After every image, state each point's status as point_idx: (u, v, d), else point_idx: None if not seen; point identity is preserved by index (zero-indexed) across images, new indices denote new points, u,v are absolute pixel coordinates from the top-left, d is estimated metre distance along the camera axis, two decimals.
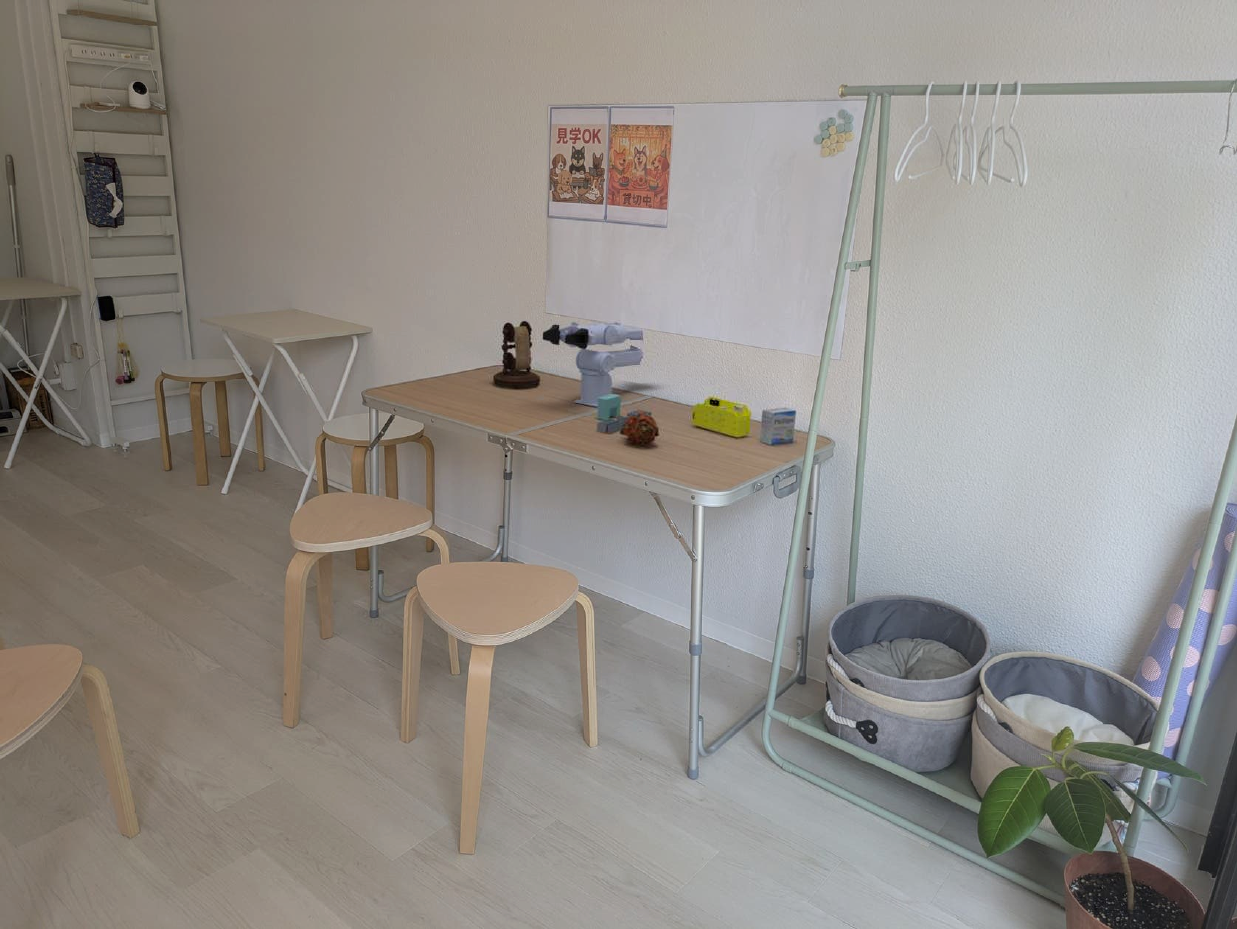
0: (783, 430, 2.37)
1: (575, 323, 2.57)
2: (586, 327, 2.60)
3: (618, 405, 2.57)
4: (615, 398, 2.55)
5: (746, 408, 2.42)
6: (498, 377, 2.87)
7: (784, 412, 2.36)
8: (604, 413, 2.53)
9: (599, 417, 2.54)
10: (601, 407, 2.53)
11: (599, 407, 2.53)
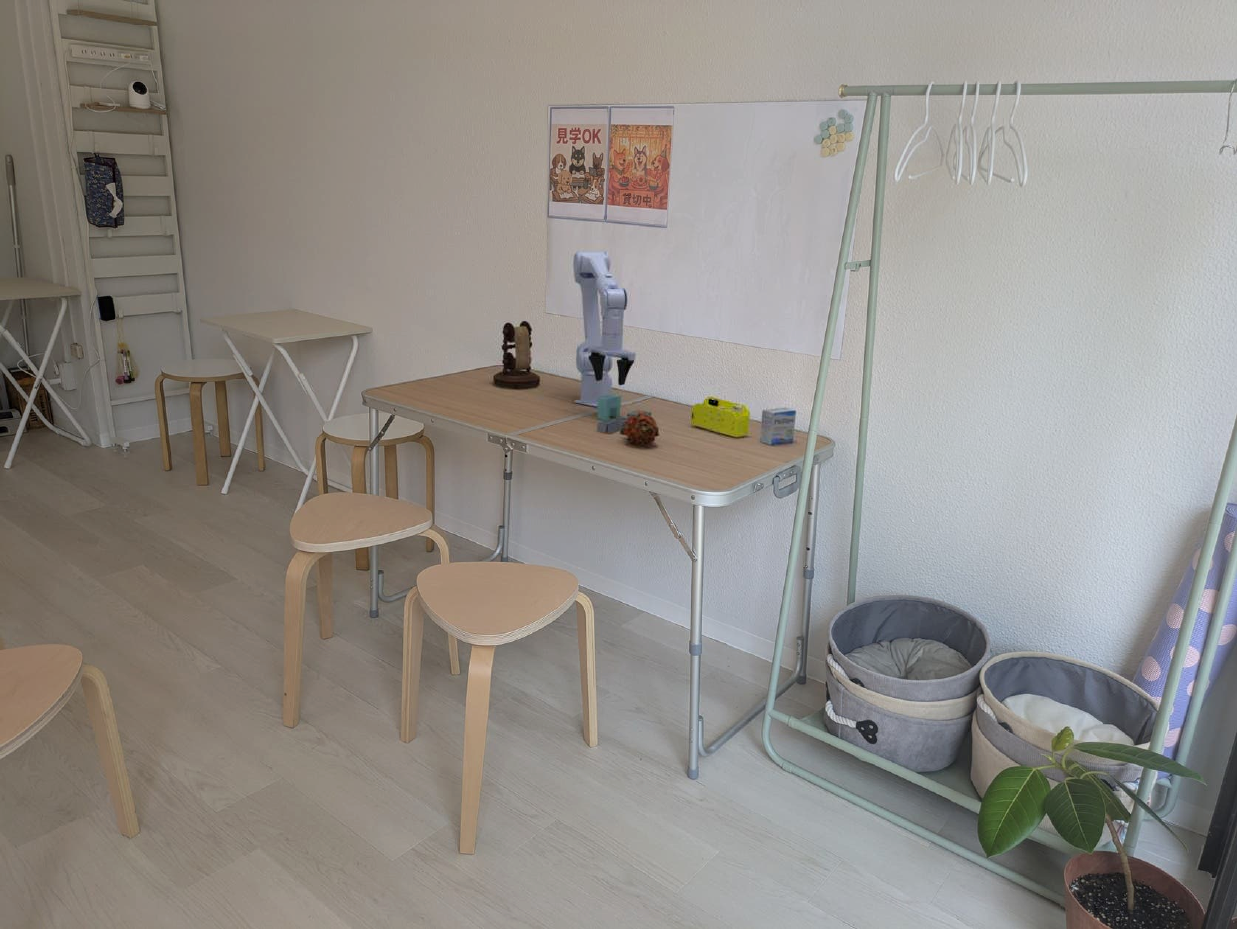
0: (783, 430, 2.37)
1: (604, 353, 2.48)
2: (610, 338, 2.47)
3: (618, 405, 2.57)
4: (615, 398, 2.55)
5: (745, 408, 2.42)
6: (498, 377, 2.87)
7: (784, 412, 2.36)
8: (604, 413, 2.53)
9: (599, 417, 2.54)
10: (601, 407, 2.53)
11: (599, 407, 2.53)
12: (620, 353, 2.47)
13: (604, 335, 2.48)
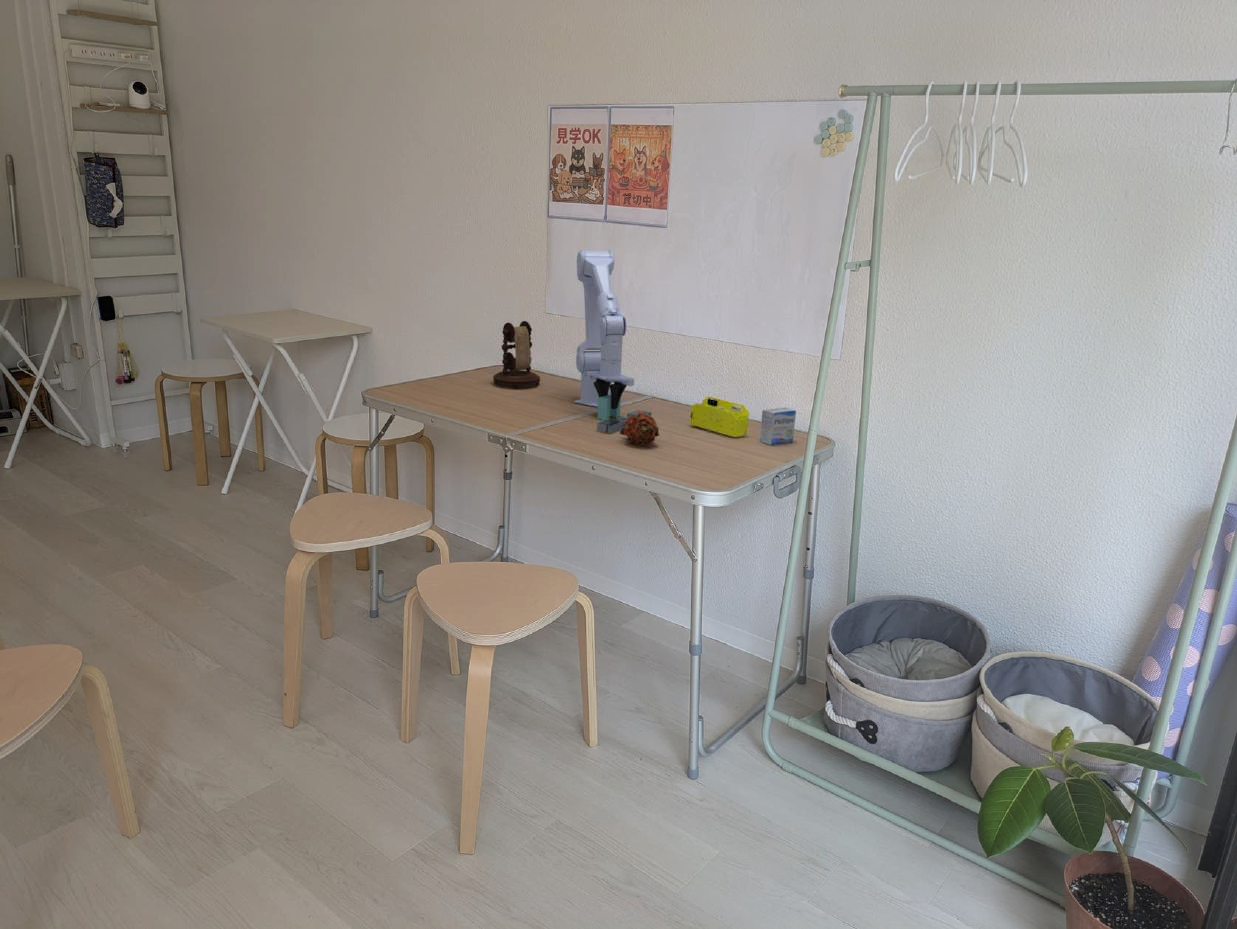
0: (783, 430, 2.37)
1: None
2: (609, 363, 2.49)
3: (618, 405, 2.57)
4: None
5: (744, 408, 2.42)
6: (498, 377, 2.87)
7: (784, 412, 2.36)
8: (604, 413, 2.53)
9: (599, 417, 2.54)
10: (601, 407, 2.53)
11: (599, 407, 2.53)
12: (619, 379, 2.49)
13: (603, 361, 2.50)
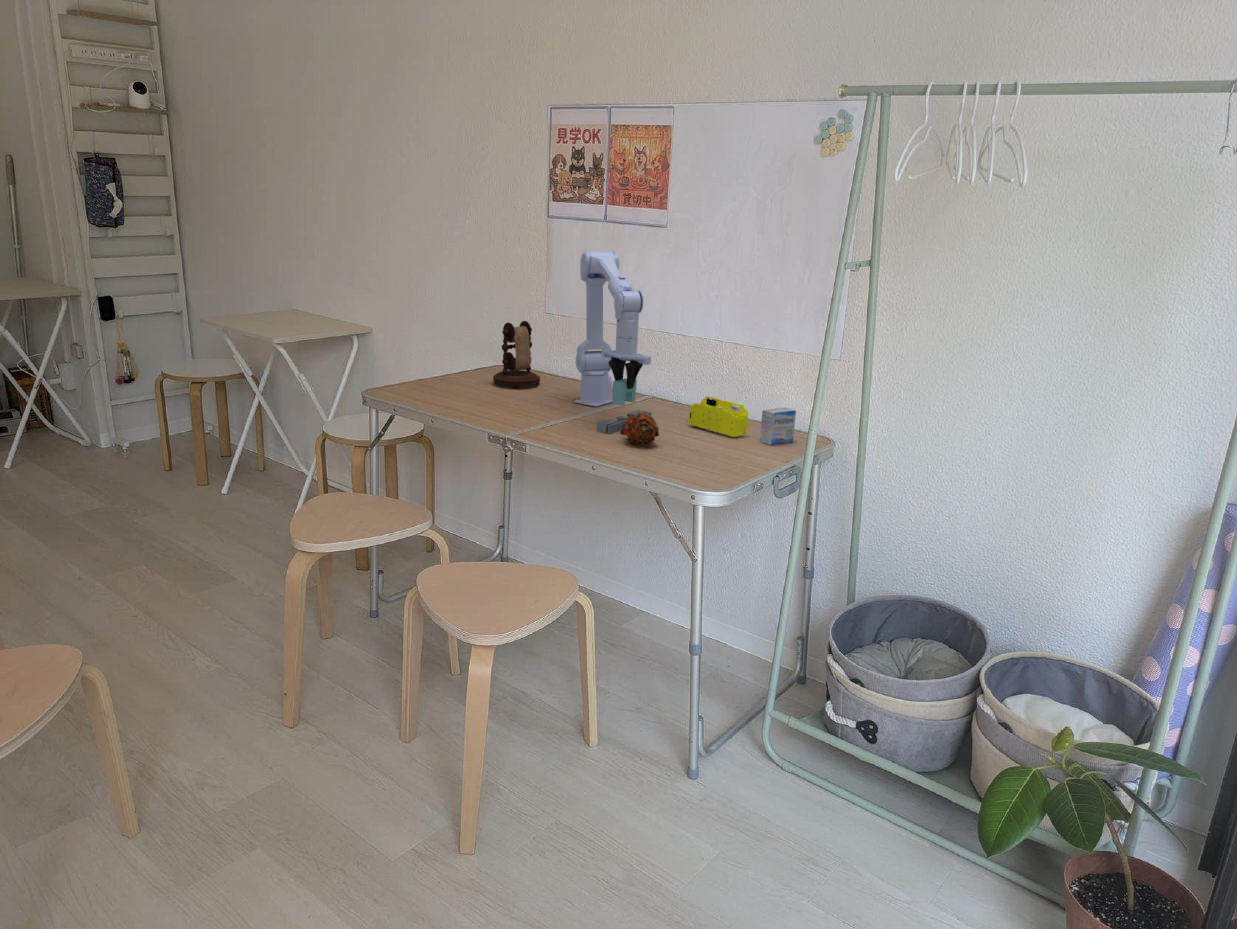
0: (783, 430, 2.37)
1: (619, 357, 2.41)
2: (625, 341, 2.40)
3: (634, 389, 2.48)
4: None
5: (743, 408, 2.42)
6: (498, 377, 2.87)
7: (784, 412, 2.36)
8: (619, 397, 2.44)
9: (614, 402, 2.45)
10: (616, 391, 2.44)
11: (614, 391, 2.44)
12: (635, 357, 2.40)
13: (619, 339, 2.40)
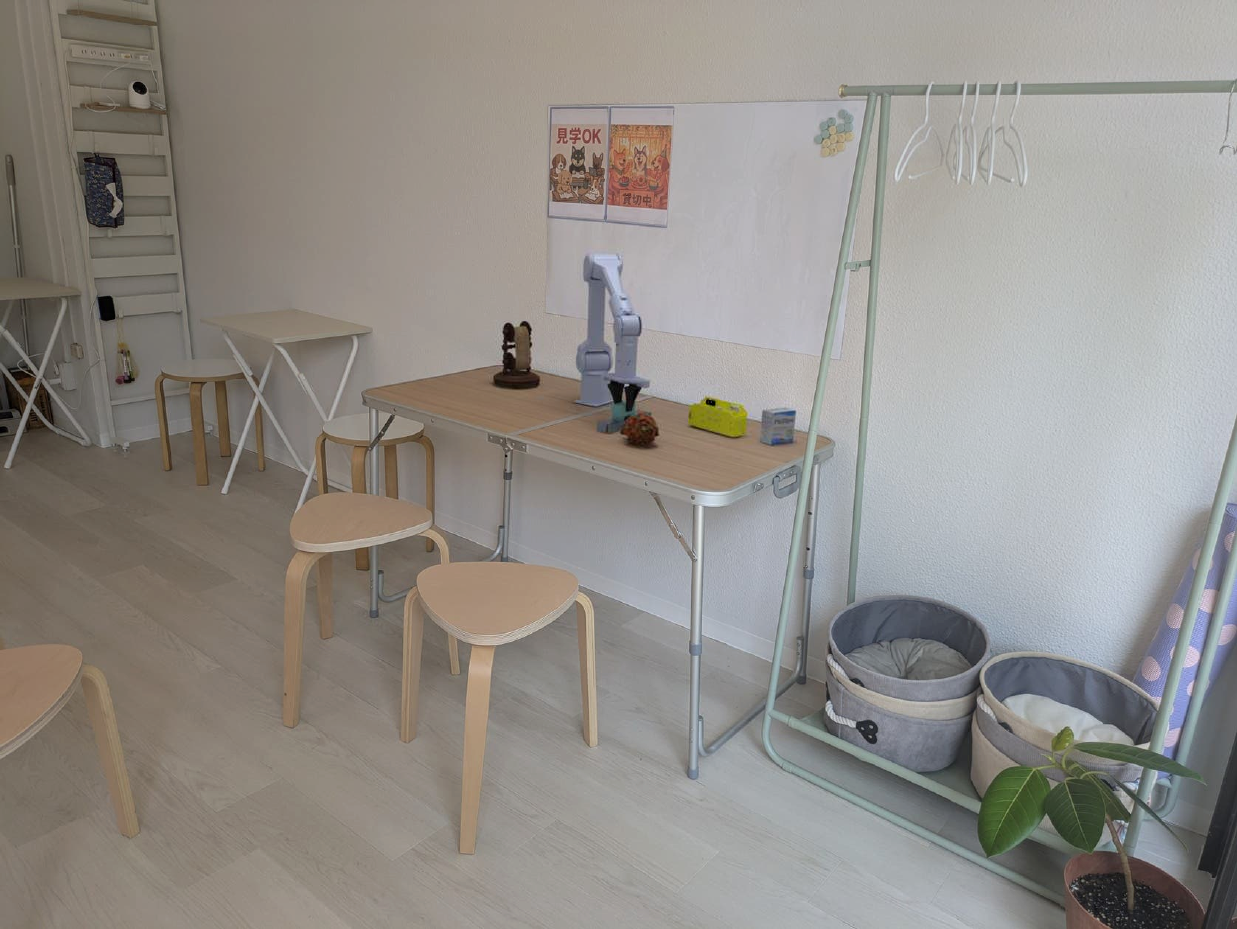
0: (783, 430, 2.37)
1: None
2: (624, 365, 2.42)
3: (632, 412, 2.49)
4: None
5: (742, 408, 2.42)
6: (498, 377, 2.87)
7: (784, 412, 2.36)
8: None
9: None
10: (615, 414, 2.45)
11: (613, 414, 2.46)
12: (634, 381, 2.42)
13: (618, 362, 2.42)
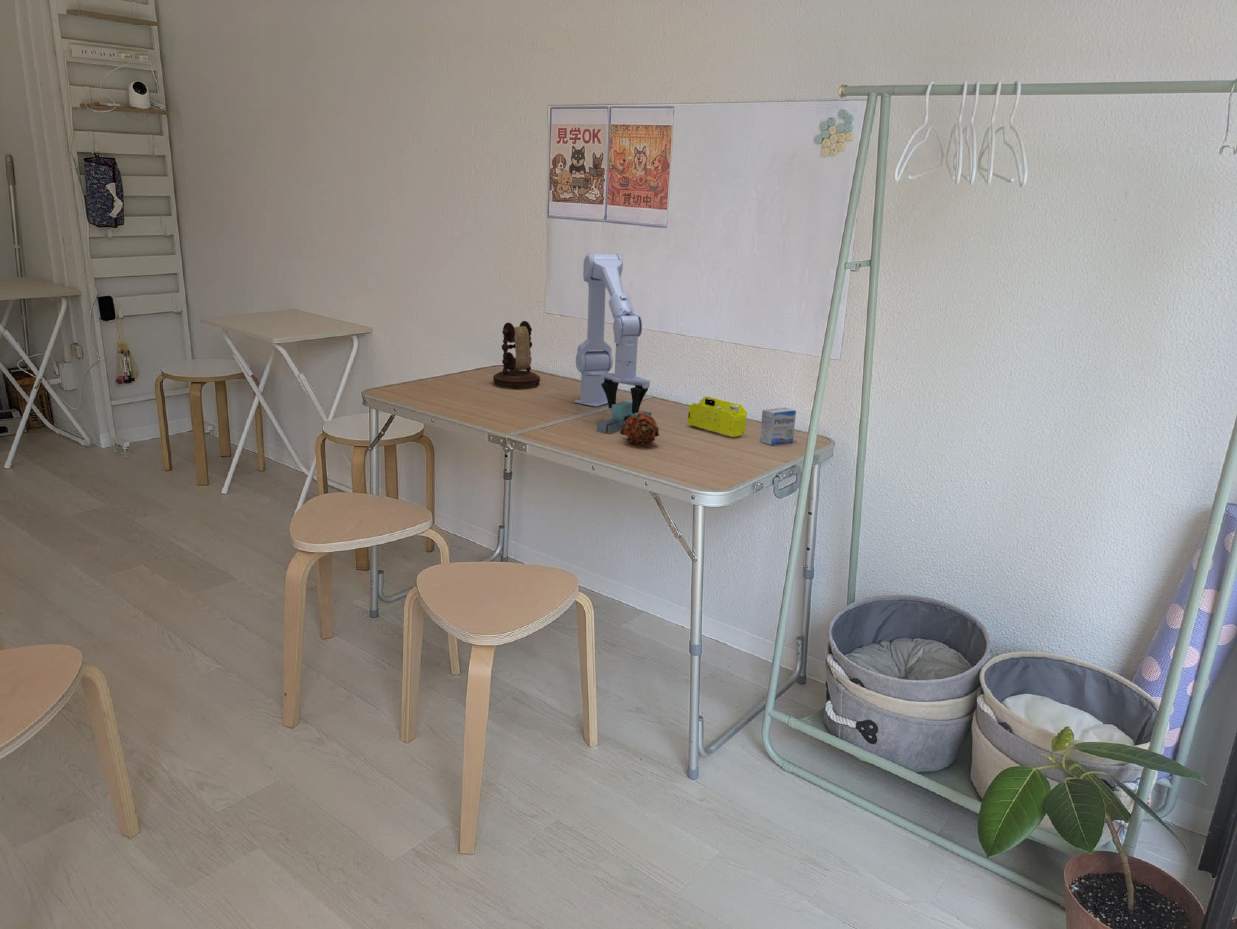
0: (783, 430, 2.37)
1: None
2: (624, 365, 2.42)
3: None
4: (629, 405, 2.47)
5: (742, 408, 2.42)
6: (498, 377, 2.87)
7: (784, 412, 2.36)
8: None
9: None
10: (615, 414, 2.45)
11: (613, 414, 2.46)
12: (634, 381, 2.42)
13: (618, 362, 2.42)
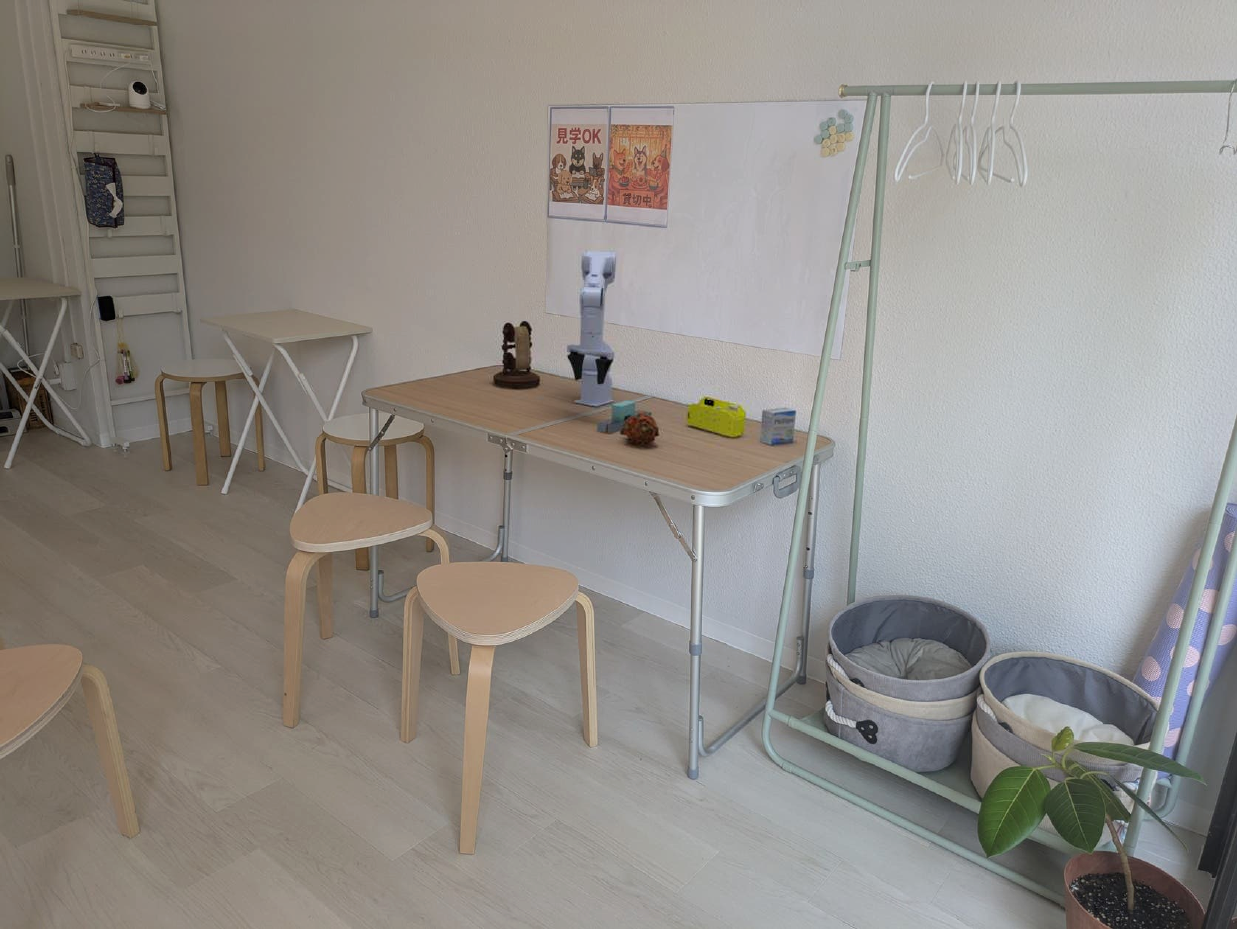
0: (783, 430, 2.37)
1: (583, 352, 2.46)
2: (589, 336, 2.45)
3: (632, 412, 2.49)
4: (629, 405, 2.47)
5: (741, 408, 2.42)
6: (498, 377, 2.87)
7: (784, 412, 2.36)
8: None
9: None
10: (615, 414, 2.45)
11: (613, 414, 2.46)
12: (599, 352, 2.45)
13: (583, 334, 2.45)
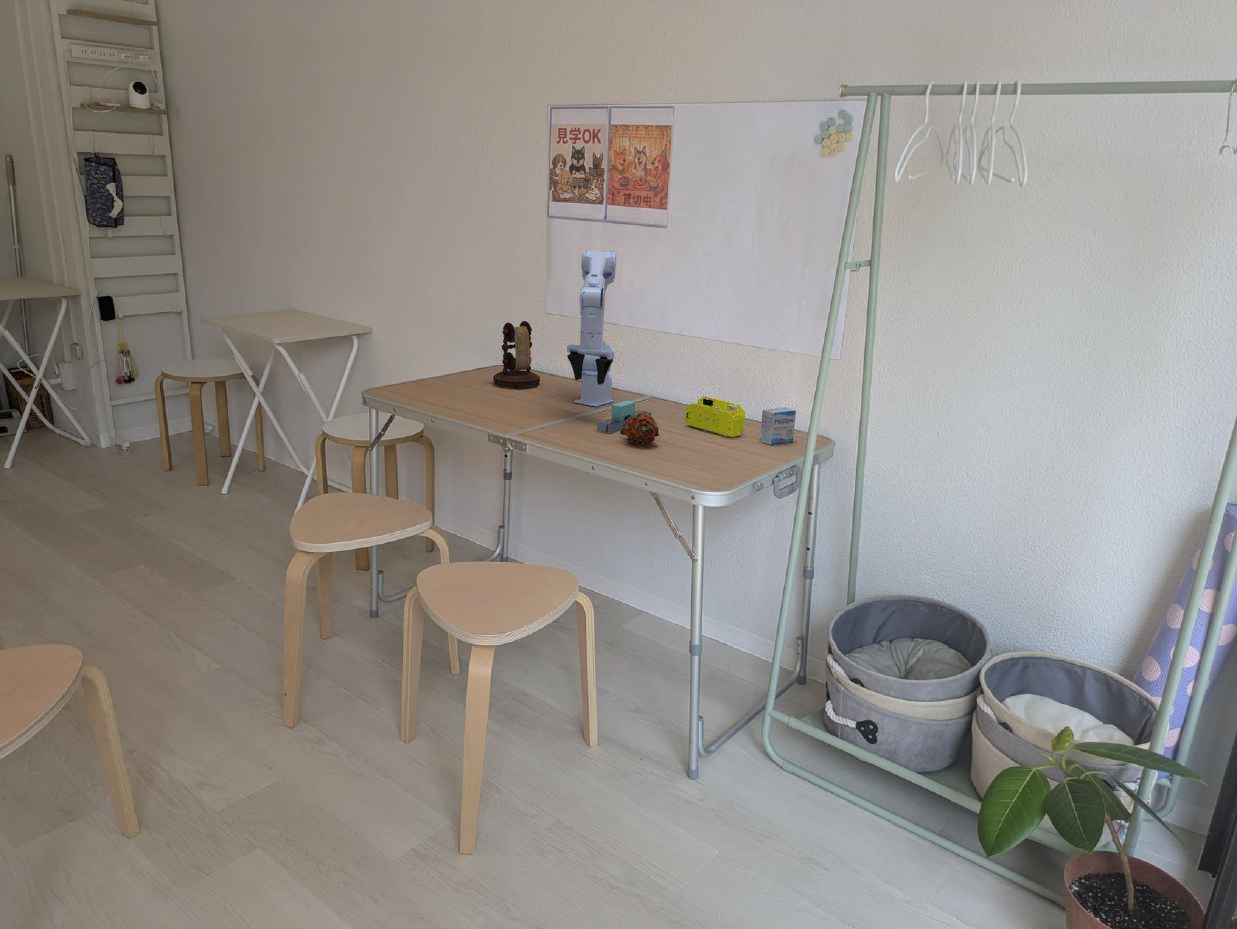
0: (783, 430, 2.37)
1: (583, 352, 2.46)
2: (589, 336, 2.45)
3: (632, 412, 2.49)
4: (629, 405, 2.47)
5: (740, 408, 2.42)
6: (498, 377, 2.87)
7: (784, 412, 2.36)
8: None
9: None
10: (615, 414, 2.45)
11: (613, 414, 2.46)
12: (599, 352, 2.45)
13: (583, 334, 2.45)
